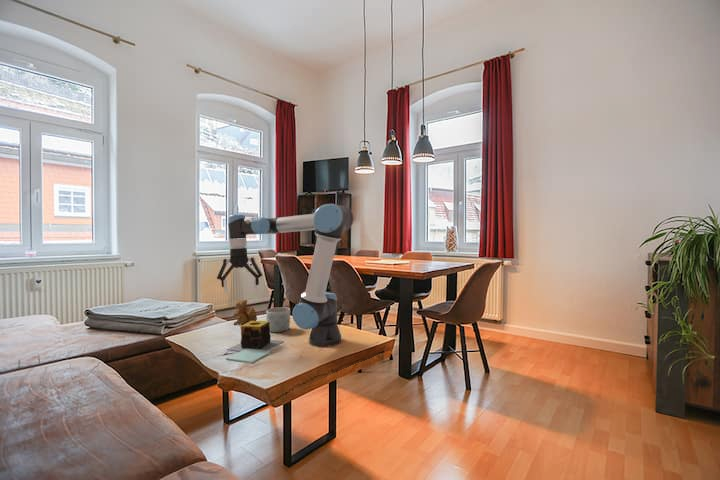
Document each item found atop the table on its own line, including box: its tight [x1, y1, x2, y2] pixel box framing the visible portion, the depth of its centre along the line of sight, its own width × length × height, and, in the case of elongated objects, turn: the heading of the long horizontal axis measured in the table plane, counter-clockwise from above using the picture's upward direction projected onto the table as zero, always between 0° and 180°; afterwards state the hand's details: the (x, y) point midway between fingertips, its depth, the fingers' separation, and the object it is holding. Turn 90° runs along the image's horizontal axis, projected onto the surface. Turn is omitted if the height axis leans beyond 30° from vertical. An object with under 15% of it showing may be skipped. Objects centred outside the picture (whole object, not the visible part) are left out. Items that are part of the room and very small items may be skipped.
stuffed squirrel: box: [232, 299, 259, 326], centre depth 205 cm, size 10×14×13 cm
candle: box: [240, 320, 271, 349], centre depth 164 cm, size 10×10×10 cm
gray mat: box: [226, 339, 285, 353], centre depth 164 cm, size 18×18×1 cm
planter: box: [265, 306, 291, 333], centre depth 189 cm, size 12×12×11 cm
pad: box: [226, 348, 272, 364], centre depth 150 cm, size 13×13×1 cm
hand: (240, 293), depth 167 cm, fingers open, 13 cm apart
